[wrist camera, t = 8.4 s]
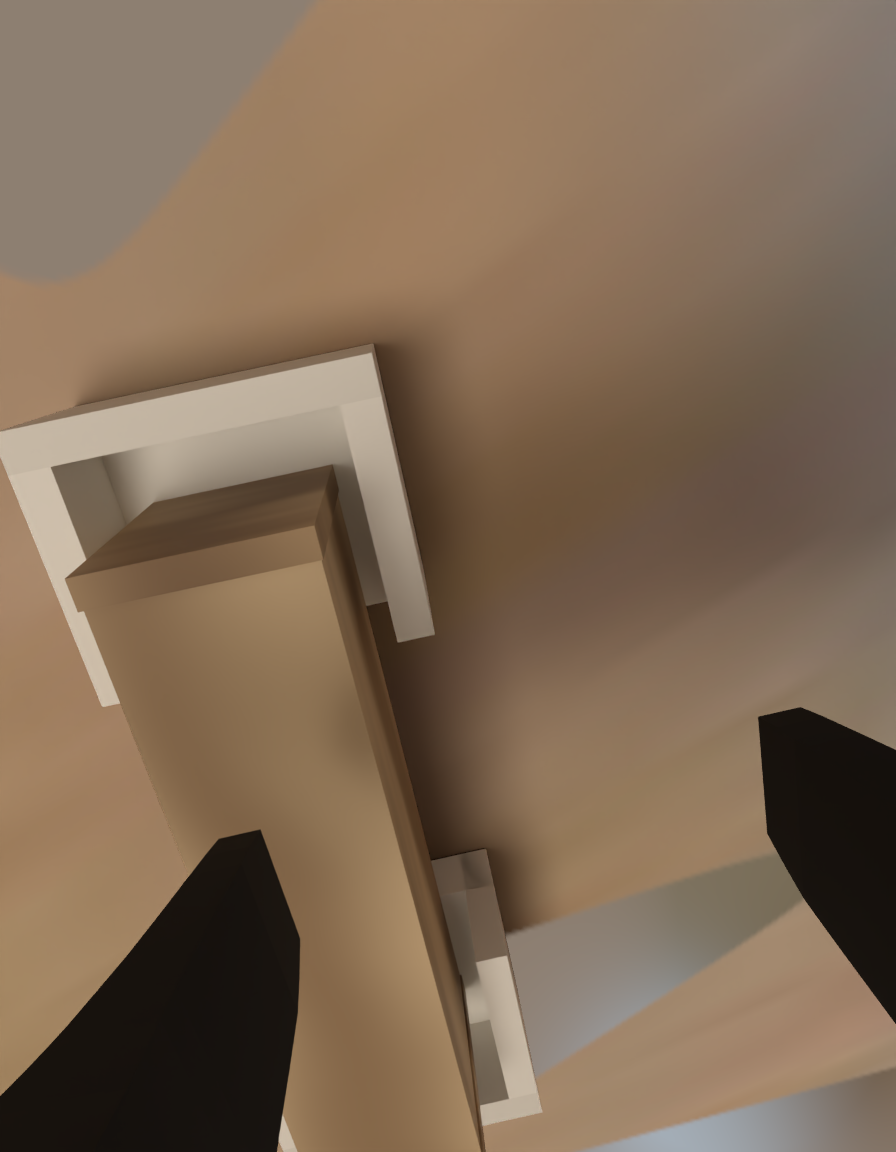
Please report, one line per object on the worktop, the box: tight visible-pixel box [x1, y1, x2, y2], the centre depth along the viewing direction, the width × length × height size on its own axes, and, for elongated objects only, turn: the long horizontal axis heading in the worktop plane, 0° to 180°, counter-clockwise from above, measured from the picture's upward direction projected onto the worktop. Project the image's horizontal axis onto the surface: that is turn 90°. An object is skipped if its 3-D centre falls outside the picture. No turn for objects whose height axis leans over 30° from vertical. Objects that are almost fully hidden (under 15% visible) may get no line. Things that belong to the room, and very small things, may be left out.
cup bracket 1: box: [0, 343, 435, 707], centre depth 17 cm, size 7×6×4 cm
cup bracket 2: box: [279, 849, 542, 1152], centre depth 22 cm, size 7×6×4 cm
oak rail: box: [65, 464, 486, 1152], centre depth 17 cm, size 4×16×5 cm, turn 11°
